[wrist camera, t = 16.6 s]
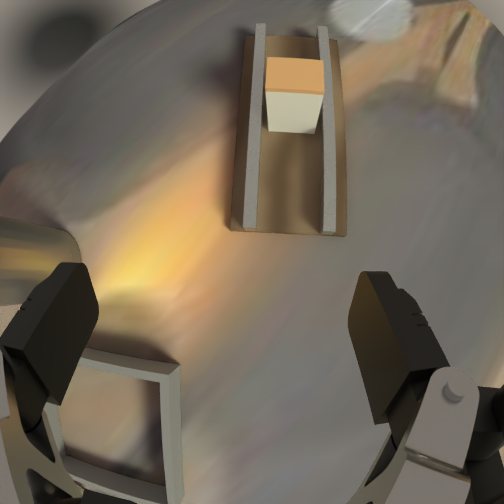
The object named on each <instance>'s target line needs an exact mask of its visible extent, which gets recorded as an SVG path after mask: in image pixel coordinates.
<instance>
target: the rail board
mask: <svg viewBox="0 0 504 504" xmlns="http://www.w3.org/2000/svg"><path fill="white" fill-rule="evenodd" d="M267 57H282V58H300V59H313V60H323V66H324V91H325V92H324V96H323V100H322V104H321V108H320V113H319V117H318V121H317V125H316V129H315V133H314V134H307V133H292V132H274V131H269V129H268V116H267V103H266V91H265V84H266V69H267ZM230 230H231V231H239V232H262V233H284V234H304V235H323V236H341V237H345V236H346V231H347V174H346V142H345V122H344V106H343V93H342V81H341V70H340V61H339V51H338V43H337V40H333V39H328V30H327V27H324V26H318V27H317V34H316V38H311V37H295V36H267V31H266V24H256V34H255V36H245V45H244V55H243V66H242V77H241V88H240V100H239V111H238V124H237V136H236V149H235V163H234V176H233V191H232V206H231V221H230Z"/></svg>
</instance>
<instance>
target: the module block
mask: <svg viewBox="0 0 504 504" xmlns="http://www.w3.org/2000/svg"><path fill="white" fill-rule="evenodd" d="M265 91H266V103H267V116H268V129H269V131H274V132H292V133H307V134H314V133H315V129H316V125H317V121H318V117H319V113H320V108H321V104H322V100H323V96H324V92H325V91H324V66H323V60H313V59H300V58H282V57H267V69H266V84H265Z"/></svg>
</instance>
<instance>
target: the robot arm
mask: <svg viewBox="0 0 504 504" xmlns="http://www.w3.org/2000/svg"><path fill="white" fill-rule="evenodd" d="M18 304H22V306H21V307H20V310H18V311H17V313H16V314H15V316H14V317H13V319H12V320H11V322H10V323H9V325H8V326H7V328H6V329H5V331H4V332H3V334H2V335H1V337H0V504H137V503H135V502H133V501H130V500H126V499H121V498H117V497H113V496H109V495H105V494H102V493H98V492H94V491H91V490H88V489H84V492H83V495H82V493H81V491H80V490H79V488H78V486H77V485H76V483H75V481H74V480H73V479H72V477H71V476H70V475H69V474H68V472H67V470H66V469H65V467H64V465H63V462H62V460H61V457H60V454H59V451H58V448H57V445H56V443H55V440H54V436H53V433H52V430H51V427H50V424H49V420H48V417H47V414H46V412H45V410H44V406H45V404H46V402H48V403H51V404H55V405H59V406H61V403H62V401H63V398H64V396H65V393H66V391H67V388H68V386H69V383H70V381H71V378H72V376H73V374H74V371H75V369H76V367H77V364H78V362H79V360H80V358H81V355H82V353H83V351H84V349H85V346H86V344H87V342H88V340H89V338H90V336H91V333H92V331H93V329H94V327H95V325H96V323H97V320H98V315H99V306H98V301H97V298H96V295H95V292H94V289H93V286H92V282H91V279H90V276H89V272H88V269H87V267H86V265H85V264H84V263H81V255H80V250H79V248H78V245H77V243H76V241H75V240H74V238H73V237H72V236H71V235H70V234H69V233H67V232H66V231H63V230H60V229H55V228H51V227H46V226H42V225H37V224H33V223H28V222H23V221H19V220H14V219H9V218H5V217H0V306H7V305H18ZM348 329H349V334H350V337H351V340H352V344H353V347H354V350H355V354H356V357H357V361H358V364H359V368H360V371H361V375H362V378H363V382H364V386H365V389H366V393H367V397H368V400H369V404H370V408H371V412H372V416H373V420H374V424H375V425H376V424H383V423H389V425H390V428H391V431H390V433H389V434H388V436H387V438H386V440H385V442H384V444H383V446H382V448H381V450H380V451H379V453H378V455H377V457H376V459H375V461H374V463H373V465H372V466H371V468H370V470H369V472H368V474H367V475H366V477H365V479H364V480H363V482H362V484H361V486H360V487H359V489H358V490H357V491H356V493H355V494H354V495H353V496H352V498H351V499H350V500H349V501H348V502H347V504H504V467H503V463H502V460H501V456H500V453H499V449H500V448H501V447H503V446H504V385H503V386H502V387H501V388H490V387H480V386H477V384H476V383H475V381H474V379H473V378H472V377H471V376H470V375H469V374H468V373H466V372H465V371H463V370H461V369H459V368H456V367H450V365H449V363H448V361H447V359H446V357H445V355H444V353H443V351H442V349H441V347H440V345H439V343H438V341H437V339H436V337H435V335H434V333H433V331H432V329H431V328H430V326H428V322H427V320H426V318H425V317H424V316H423V315H422V311H421V309H420V308H419V306H418V304H417V302H416V300H415V299H414V298H413V297H411V296H410V295H409V294H408V293H407V292H406V291H405V290H404V289H398V288H397V287H396V285H395V283H394V281H393V279H392V278H391V276H390V274H389V273H388V272H384V271H363V272H361V273H360V275H359V278H358V282H357V285H356V289H355V293H354V296H353V300H352V303H351V307H350V310H349V315H348Z"/></svg>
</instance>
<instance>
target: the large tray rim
mask: <svg viewBox="0 0 504 504" xmlns="http://www.w3.org/2000/svg"><path fill="white" fill-rule="evenodd" d="M77 365H81V366H85V367H89V368H93V369H97V370H101V371H105V372H109V373H114V374H118V375H123V376H128V377H133V378H138V379H143V380H148V381H154V382H160V407H161V428H162V445H163V458H164V470H165V481H166V486H162V485H157V484H153V483H149V482H145V481H142V480H138V479H134V478H131V477H127V476H124V475H121V474H117V473H114V472H111V471H108V470H105V469H102V468H99V467H96V466H94V465H91V464H88V463H86V462H83V461H80V460H78V459H75V458H73V457H70V456H68V455H66V451H65V446H64V441H63V436H62V431H61V426H60V420H59V414H58V408H57V405H55V404H51V403H48V402H46V404H45V406H44V410H45V412H46V414H47V417H48V420H49V424H50V427H51V430H52V433H53V436H54V440H55V443H56V445H57V448H58V451H59V454H60V457H61V460H62V462H63V465H64V467H65V469H66V470H67V472H68V474H69V475H70V476H71V477H72V479H73V480H75V481H78V482H80V483H83V484H85V485H88V486H90V487H93V488H95V489H98V490H101V491H104V492H106V493H109V494H112V495H115V496H118V497H121V498H124V499H128V500H131V501H134V502H138V503H141V504H180V503H181V501H182V499H183V497H184V483H183V466H182V443H181V404H180V364H173V363H166V362H160V361H153V360H147V359H141V358H135V357H130V356H125V355H119V354H114V353H109V352H104V351H99V350H95V349H90V348H86V347H85V349H84V351H83V353H82V355H81V358H80V360H79V362H78V364H77Z"/></svg>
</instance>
